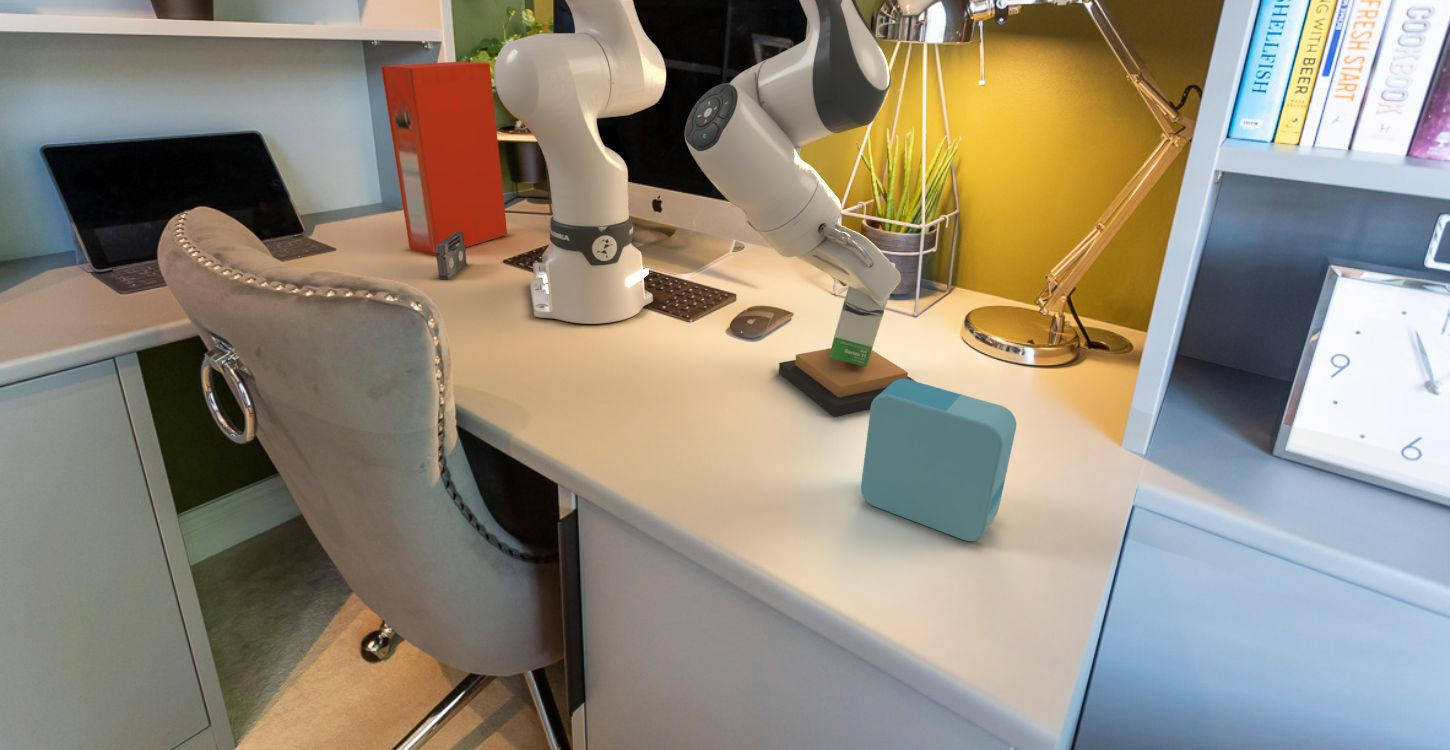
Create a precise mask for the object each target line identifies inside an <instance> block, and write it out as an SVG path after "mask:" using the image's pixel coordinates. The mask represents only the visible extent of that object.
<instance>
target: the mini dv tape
mask: <svg viewBox="0 0 1450 750" xmlns="http://www.w3.org/2000/svg"><path fill="white" fill-rule="evenodd" d="M435 257H436V264H437V272H438V279H439V280H450V279H451V278H452V277H454V276H455V275H456V274H458V273H459V272H460V271H461V270H463V269H465V267H467V265H468V262H467V254H466V247H465V244H464V236H463V232H455V233H454V234H452V235H451V236H449V237H448V238H446V239H445V240H443V241H442V242H440V243H439V244H437V245H436V256H435Z"/></svg>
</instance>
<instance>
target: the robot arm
mask: <svg viewBox="0 0 1450 750" xmlns="http://www.w3.org/2000/svg"><path fill="white" fill-rule="evenodd" d="M564 1H565V2H566V4H567V6H568V8H569V10H570V12H571V16H572V19H573V24H574V32H573V33H572V32H571V33H570V32H568V33H565V32H564V33H563V32H562V33H536V34H531V35H528V36H525V37H520V38H518V39H514V40H511V41H508V42H507V43H505V44H504V45H503V46H502V48H501V49H500V51H499V52H498V55H497V57H496V60H495V63H494V70H493V71H494V72H493V78H494V87H495V90H496V93H497V95H498V98H499V100H500V101H501V103H502V105H503V106H504V108H505V109H506V110H507V111H508V112H509V113H510V115H512V116H513V117H514V118H516V119H517V120H518V121H520V122H521V123H522V124H523V125H524V126H525V127H526V128H527V129H528V130H529V131H530V133H531V134H532V135H533V137H534V138H535V140H536V142H537V144H538V146H539V148H540V150H541V152H542V154H543V157H544V161H545V164H546V167H547V168H546V169H547V173H548V180H549V188H550V198H551V199H550V200H551V210H552V216H551V217H550V221H549V223H550V224H549V225H548V226H549V227H548V229H549V231H548V232H549V241H550V243H549V244H548V246H547V247H546V249H545V250H544V252H543V253H542V255H541V259H542V260H541V262H533V263H532V270H533V278H534V279H532V280H531V281H530V283H529V289H530V296H531V297H530V298H531V303H532V310H533V316H534V317H535V318H536V317H537V318H542V319H555V320H559V321H562V322H568V323H574V324H590V325H593V324H594V325H596V324H597V325H598V324H608V323H614V322H619V321H620V322H621V321H624V320H627V319H629V318H632V317H634V316H636V315H637V314H639V313H640V312H641V311H642V309H643V308H644V307H645V306H647V305H649V304H651V303H653V302H654V295H653V293H651V292H649V291H648V290H646V289H645V279H644V278H645V277H646V276H648V275H649V268H644V267H643V255H642V252H641V251H640V250H639V249H638V248H637V247H636V246H634V236H633V233H634V225H633V218H632V216H631V215H630V208H629V204H630V203H629V202H630V200H629V170H628V166H627V165H626V162H625V160H624V159H623V158H622V157H621V155H620V154H618V153H617V152H616V151H614V150H613V149H611V148H609V147H607V146H605V144H604V143H603V141H602V138H601V136H600V133H599V129H598V123H597V121H598V119H603V118H613V117H614V118H615V117H622V116H624V117H625V116H630V115H633V114H636V113H638V112H641V111H643V110H646V109H648V108H650V107H652V106H654V105H656V104H657V103H658V102H659V101H660V99H661V98H662V96H663V94H664V91H665V87H666V82H667V69H666V63H665V61H664V57H663V55H662V53H661V52H660V50H659V48H658V46H657V45H656V44H655V43H654V42H653V41H652V40H651V39H650V38H649V37H648V35H647V34H646V32H645V31H644V29H643V26H642V24H641V21H640V20H639V17H638V14H637V11H636V8H635V3H634V0H564ZM798 1H799V3H800V6H801V8H802V10H803V13H804V14H805V17H806V19H807V22H808V26H809V29H808V34H807V36H806V38H805V39H804V41H802V42H799V43H798V44H796V45H794V46H792V47H790V48H788V49H787V50H784V51H782V52H780V53H778V54H777V55H774V56H772V57H769V58H766V59H765V60H763V61H761V62H759V63H757V64H755V65H753V66H751V67H749V68H747V69H745V70H744V71H742V72H740V73H739V74H738V75H736V76H735V77H733V78H732V79H731V80H730V81H729V82H727V83H721V84H718V85H715V86H713V87H712V88H711V89H709V90H708V91H706V92H705V93H704V94H702V96H701V97H700V98H699V99H698V101H696V103H695V105H694V106H693V107H692V109H691V111H690V112H689V115H688V117H687V120H686V123H685V126H684V139H685V143H686V146H687V148H688V150H689V152H690V154H691V156H692V157H693V159H694V161H695V162H696V164H697V165H698V167H699V168H700V170H701V171H702V172H703V174H704V175H705V176H706V177H707V179H708V180H709V181H710V182H711V183H712V185H713V186H714V187H715V189H717V190H718V192H720V194H721V195H722V196H723V197H724V198H725V199H726V200H727V201H728V202H729V203H731V205H733V206H735V207H737V208H739V209H740V210H741V211H742V212H743V213H744V214H745V215H746V216H745V218H744V219H745V222H746V223H747V224H748V225H749V226H750V227H751V228H752V229H753V230H755V231H756V232H757V233H758V234H759V235H760V236H761V237H762V239H764V240H765V241H766V242H767V244H769V246H770V247H771V248H772V249H773V250H774V251H775V253H777V254H778V255H780V256H781V257H785V258H796V259H798V260H800V261H803V262H804V263H806V264H808V265H810V266H811V267H814V268H815V269H817V270H819V271H821V272H823V273H825V274H827V276H829V277H831V278H832V280H833V281H834V282H835V283H837V284H838V285H840V286H843V287H846V286H848V287H849V286H851V287H853V288H855V289H857V290H859V291H861V292H862V293H864V294H866V295H867V296H868V297H869V298H870V299H871V301H872V302H874V303H876V304H877V305H879V306H883V305H884V304H885V303H886V302H887V303H888V300H889V299H890V298H891V293H892V292H893V291H894V290H895V289H896V288H897V287H898V285H899V284H900V283H901V281H902V280H901V279H902V276H901V273H900V270H898V269H897V268H896V266H895V267H894V266H893V264H892V263H893V262H891V261H890V260H889V259H888V258H887V256H886V255H885V254H884V253H883V252H882V251H881V250H880V248H878V247H877V246H876V245H875V244H874V243H873V242H872V241H871V240H870V239H869V238H867V237H866V236H865V235H863V234H861V233H859V232H858V231H855V230H853V229H851V228H848V227H846V226H844V225H841V224H840V216H841V211H842V204H841V202H840V199H839V198H838V196H837V195H836V194H835V193H834V191H833V190H832V189H831V188H830V186H828V184H827V183H826V181H824V179H823V178H822V177H821V175H820V174H819V173H818V172H817V170H816V169H815V168H813V166H812V165H810V164H809V163H807V162H805V161H804V160H803V159H802V158H801V157H800V154H801V150H802V147H804V146H807V145H809V144H813V143H814V142H816V141H819V140H821V139H824V138H827V137H830V136H831V135H835V134H840V133H844V132H847V131H850V130H854V129H858V128H861V127H865V126H868V125H870V124H872V123H873V122H874V121H875V119H876V118H877V116H878V115H879V113H880V112H881V110H882V108H883V106H884V104H885V101H886V100H887V98H888V94H889V92H890V88H891V85H892V77H891V76H892V75H891V69H890V66H889V63H888V60H887V57H886V54H885V52H884V50H883V49H882V47H881V45H880V43H879V41H878V39H877V37H876V36H875V33H874V32H873V30H872V29H871V27H870V25H869V24H868V23H867V21H866V18H865V17H864V15H863V13H862V11H861V9H860V7H859V5H858V3H857V1H856V0H798Z"/></svg>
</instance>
